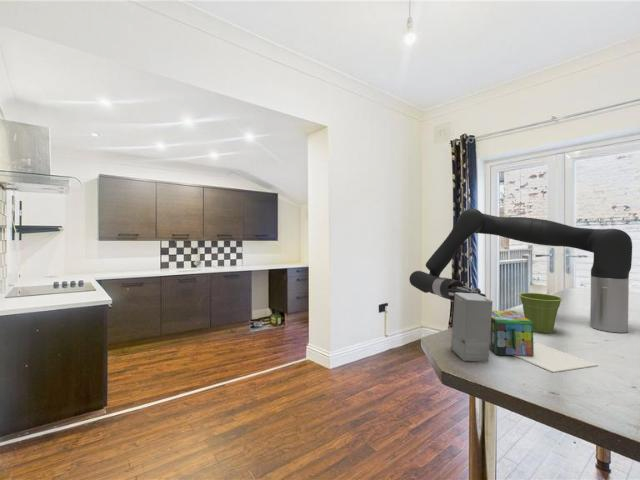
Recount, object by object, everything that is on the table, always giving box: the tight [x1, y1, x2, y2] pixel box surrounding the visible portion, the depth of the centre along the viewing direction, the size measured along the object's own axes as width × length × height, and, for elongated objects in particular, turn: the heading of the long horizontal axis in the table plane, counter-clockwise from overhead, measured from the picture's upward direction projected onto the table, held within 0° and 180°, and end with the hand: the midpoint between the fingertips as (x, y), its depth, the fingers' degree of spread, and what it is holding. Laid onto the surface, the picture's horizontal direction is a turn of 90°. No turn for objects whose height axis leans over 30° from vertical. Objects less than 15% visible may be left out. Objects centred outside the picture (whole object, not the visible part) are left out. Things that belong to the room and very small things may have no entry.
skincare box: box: [450, 293, 494, 363], centre depth 81 cm, size 8×7×16 cm
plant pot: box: [518, 292, 563, 334], centre depth 102 cm, size 12×12×11 cm
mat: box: [512, 342, 599, 374], centre depth 80 cm, size 16×14×1 cm
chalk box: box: [489, 310, 534, 356], centre depth 84 cm, size 9×9×15 cm
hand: (483, 298), depth 99 cm, fingers closed
